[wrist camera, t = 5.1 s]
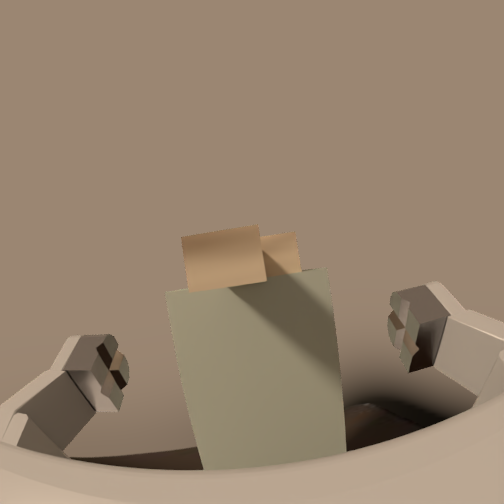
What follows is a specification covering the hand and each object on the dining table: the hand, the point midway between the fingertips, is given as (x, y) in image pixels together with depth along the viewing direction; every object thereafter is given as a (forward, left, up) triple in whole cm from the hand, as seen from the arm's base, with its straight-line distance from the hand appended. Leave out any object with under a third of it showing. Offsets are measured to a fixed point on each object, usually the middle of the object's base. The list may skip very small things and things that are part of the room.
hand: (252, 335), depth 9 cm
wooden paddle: (-1, +11, +1) cm, 11 cm away
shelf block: (-1, +15, -25) cm, 29 cm away
